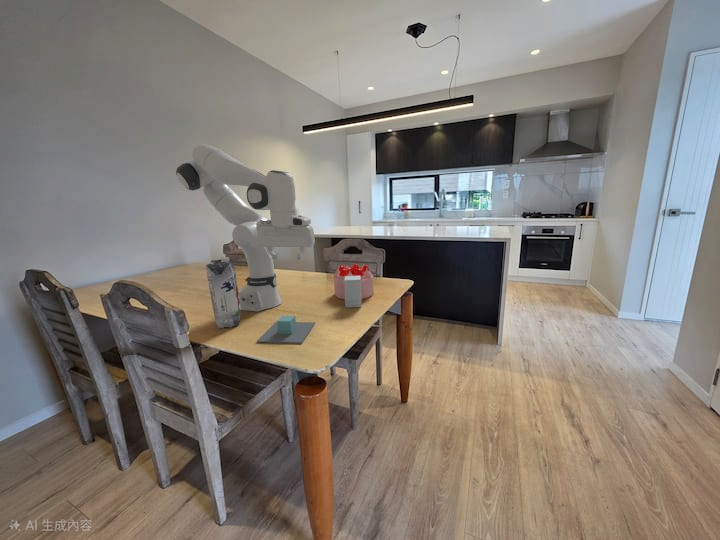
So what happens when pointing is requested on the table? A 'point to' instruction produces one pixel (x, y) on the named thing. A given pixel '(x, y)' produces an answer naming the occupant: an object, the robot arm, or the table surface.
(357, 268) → the cake
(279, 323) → the teal cube
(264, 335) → the charcoal mat
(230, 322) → the juice carton
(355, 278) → the supplement box
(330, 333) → the table surface
